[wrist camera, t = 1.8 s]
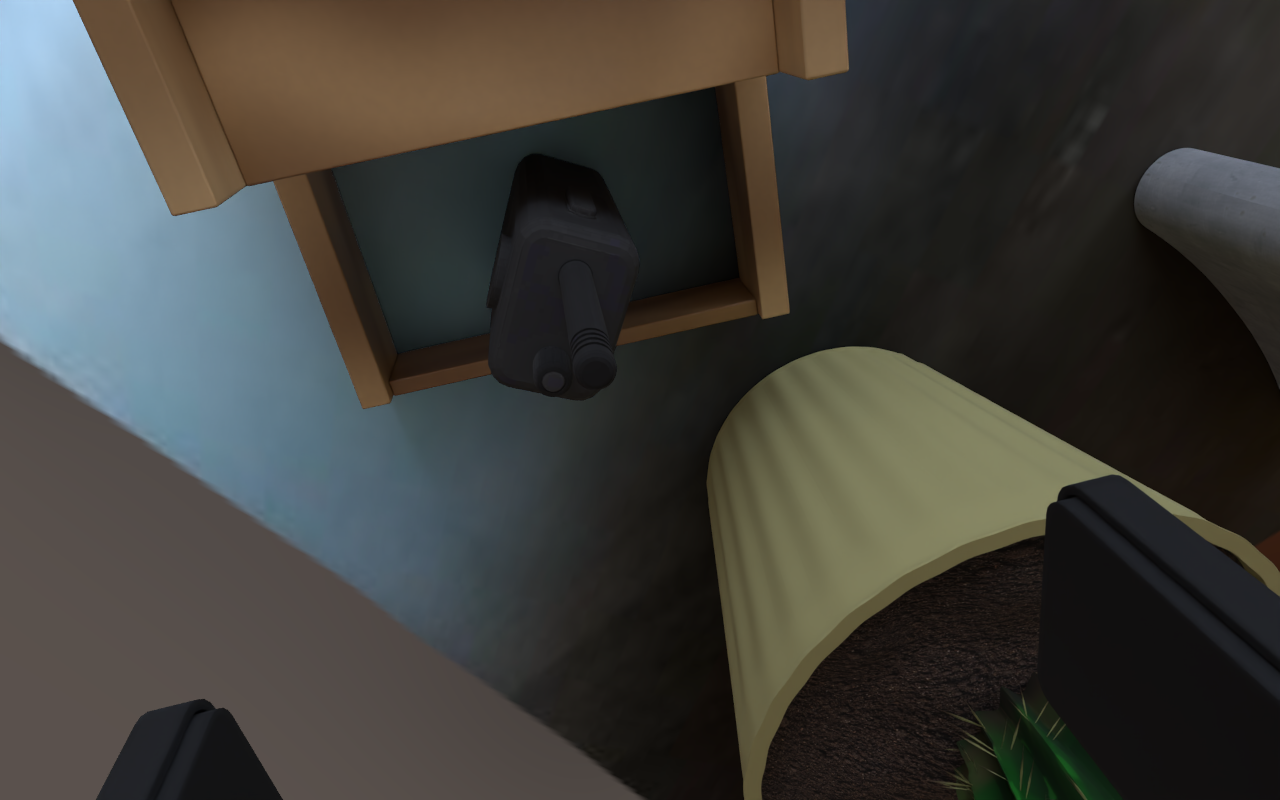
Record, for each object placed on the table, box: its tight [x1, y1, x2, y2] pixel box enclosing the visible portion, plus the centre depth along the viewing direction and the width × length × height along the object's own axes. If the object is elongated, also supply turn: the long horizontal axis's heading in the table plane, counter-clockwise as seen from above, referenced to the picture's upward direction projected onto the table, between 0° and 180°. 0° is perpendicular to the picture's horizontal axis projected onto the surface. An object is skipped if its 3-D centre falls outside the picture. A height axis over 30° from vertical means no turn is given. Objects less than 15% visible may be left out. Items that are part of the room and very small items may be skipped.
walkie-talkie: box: [486, 154, 640, 400], centre depth 22 cm, size 5×3×15 cm
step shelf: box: [73, 0, 849, 409], centre depth 22 cm, size 16×15×10 cm
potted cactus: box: [706, 347, 1280, 800], centre depth 21 cm, size 15×15×30 cm
